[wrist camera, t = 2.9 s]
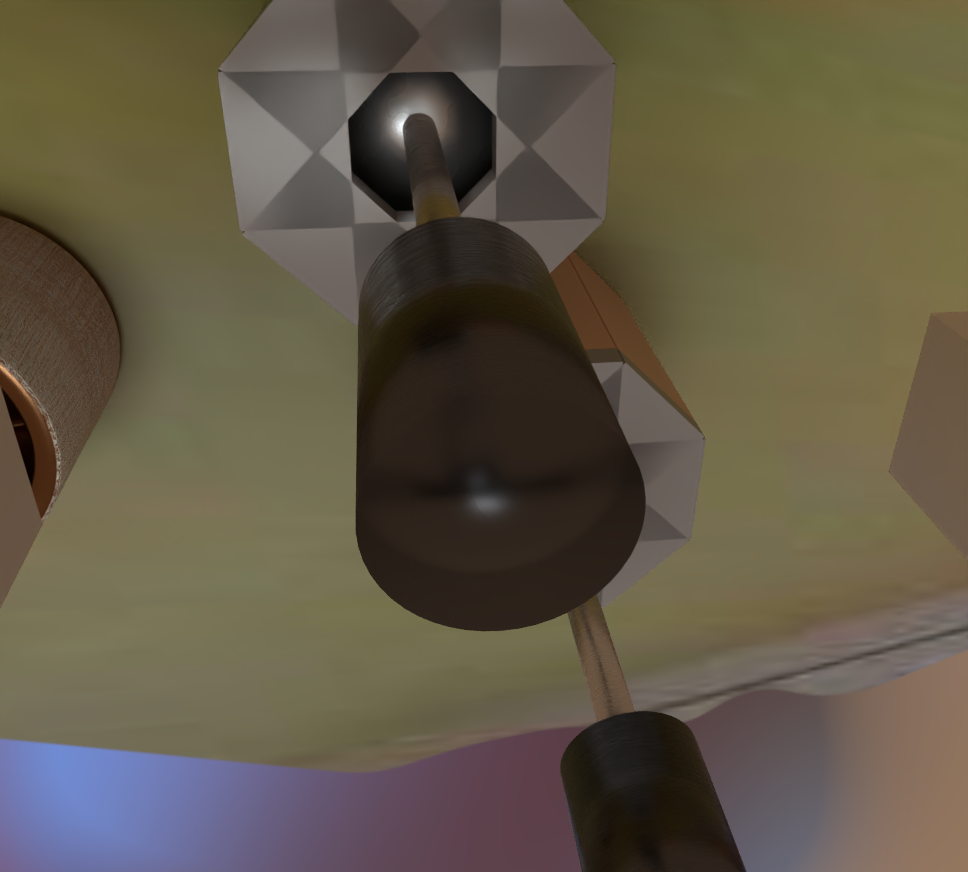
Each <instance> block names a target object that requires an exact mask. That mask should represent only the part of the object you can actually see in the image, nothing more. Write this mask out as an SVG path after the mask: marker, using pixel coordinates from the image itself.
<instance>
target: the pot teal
mask: <svg viewBox="0 0 968 872" xmlns="http://www.w3.org/2000/svg"><path fill="white" fill-rule="evenodd" d="M614 61H615V60H614V59H613V58H612V56H611V55H610V54H609V53H608V52H607V51H606V49H605V48H604V47H603V46H602V45H601V44H600V43H599V41H598V40H597V39H596V38H595V37H594V36H593V34H592V33H591V32H590V31H589V30H588V29H587V28H586V26H585V25H584V24H583V23H582V22H581V21H580V19H579V18H578V17H577V16H576V15H575V14H574V13H573V11H572V10H571V9H570V8H569V7H568V6H567V4H566V3H565V2H564V1H563V0H269V2H268V3H267V4H266V5H265V7H264V8H263V9H262V11H261V12H260V13H259V15H258V16H257V17H256V19H255V20H254V21H253V23H252V24H251V25H250V27H249V28H248V29H247V31H246V32H245V33H244V35H243V36H242V37H241V39H240V40H239V41H238V43H237V44H236V45H235V47H234V48H233V49H232V51H231V52H230V53H229V55H228V56H227V57H226V59H225V60H224V61H223V63H222V64H221V65H220V67H219V71H218V79H219V86H220V93H221V100H222V107H223V114H224V121H225V128H226V135H227V142H228V150H229V157H230V164H231V171H232V178H233V185H234V192H235V199H236V206H237V213H238V220H239V227H240V231H243V233H242V235H243V236H245V237H246V238H247V239H248V240H250V241H251V242H252V243H253V244H255V245H256V246H257V247H258V248H259V249H261V250H262V251H263V252H264V253H266V254H267V255H268V256H269V257H271V258H272V259H273V260H274V261H276V262H277V263H278V264H279V265H281V266H282V267H283V268H284V269H286V270H287V271H288V272H289V273H291V274H292V275H293V276H294V277H295V278H297V279H298V280H299V281H300V282H302V283H303V284H304V285H305V286H307V287H308V288H309V289H310V290H312V291H313V292H314V293H315V294H317V295H318V296H319V297H320V298H322V299H323V300H324V301H325V302H327V303H328V304H329V305H330V306H331V307H333V308H334V309H335V310H336V311H338V312H339V313H340V314H341V315H343V316H344V317H345V318H346V319H348V320H349V321H350V322H351V323H353V324H354V325H355V326H357V325H358V317H359V300H360V293H361V289H362V286H363V282H364V280H365V278H366V275H367V273H368V271H369V269H370V267H371V266H372V264H373V263H374V261H375V259H376V258H377V257H378V256H379V254H380V253H381V252H382V251H383V250H384V249H385V248H386V247H387V246H388V245H389V244H390V243H391V242H392V241H393V240H394V239H396V238H397V237H399V236H400V235H402V234H403V233H404V232H406V231H408V230H410V229H412V228H414V227H416V221H415V214H414V211H395V210H394V209H393V208H392V207H391V206H389V205H388V204H387V203H386V202H385V201H384V200H383V199H382V198H380V197H379V196H378V195H377V194H376V193H375V192H374V191H373V190H372V189H370V188H369V187H368V186H367V185H366V184H365V183H364V182H363V181H362V180H360V179H359V178H358V177H357V176H356V175H355V174H354V173H353V172H352V159H351V146H350V132H349V118H350V117H351V116H352V114H353V113H354V112H355V111H356V110H357V109H358V108H359V107H360V105H361V104H362V103H363V102H364V101H365V100H366V99H367V97H368V96H369V95H370V94H371V93H372V92H373V91H374V90H375V88H376V87H377V86H378V85H379V84H380V83H381V82H382V80H383V79H384V78H385V77H386V76H387V75H388V74H389V73H404V72H454V73H455V74H456V75H457V76H458V78H459V79H460V80H461V81H462V82H463V83H464V84H465V85H466V86H467V87H468V88H469V89H470V90H471V91H472V92H473V93H474V94H475V95H476V96H477V97H478V98H479V99H480V100H481V101H482V102H483V103H484V104H485V105H486V106H487V107H488V108H489V109H490V110H491V111H492V169H491V170H490V171H489V172H488V173H487V174H486V175H485V176H484V177H483V178H482V179H481V180H480V181H479V182H478V183H477V184H476V185H475V186H474V187H473V188H472V189H471V190H470V191H469V192H468V194H467V195H466V196H465V197H464V198H463V199H462V200H461V201H460V202H459V203H458V206H459V210H460V213H461V217H473V218H480V219H485V220H488V221H492V222H495V223H498V224H500V225H502V226H504V227H507V228H509V229H510V230H512V231H514V232H515V233H517V234H518V235H520V236H521V237H522V238H524V239H525V240H526V241H527V242H528V243H530V245H531V246H532V247H533V248H534V249H535V250H536V251H537V252H538V254H539V255H540V257H541V258H542V260H543V261H544V263H545V264H546V266H547V269H548V271H549V273H551V272H552V271H553V270H554V269H555V268H556V267H557V266H558V265H559V264H560V263H561V262H562V261H563V260H564V259H565V258H566V257H567V256H568V255H569V254H571V253H572V252H573V251H574V250H575V249H576V248H577V247H578V246H579V245H580V244H581V243H582V242H583V241H584V240H585V239H586V238H587V237H588V236H589V235H590V234H591V233H592V232H593V231H594V230H595V229H597V228H598V227H599V226H600V225H601V224H602V223H603V222H604V221H603V219H602V218H605V217H606V202H607V188H608V174H609V160H610V146H611V132H612V117H613V103H614V89H615V75H616V64H615V63H614Z"/></svg>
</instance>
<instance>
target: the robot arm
mask: <svg viewBox="0 0 968 872" xmlns="http://www.w3.org/2000/svg"><path fill="white" fill-rule="evenodd" d="M889 473H890V474H891V475H892V476H893V477H894V478H895V480H896V481H897V482H898V483H899V484H900V485H901V486H902V487H903V489H904V490H905V491H906V492H907V493H908V494H909V495H910V497H911V498H912V499H913V500H914V501H915V502H916V503H917V504H918V506H919V507H920V508H921V509H922V510H923V511H924V512H925V513H926V515H927V516H928V517H929V518H930V519H931V520H932V521H933V523H934V524H935V525H936V526H937V527H938V528H939V529H940V530H941V532H942V533H943V534H944V535H945V536H946V537H947V538H948V540H949V541H950V542H951V543H952V544H953V545H954V546H955V547H956V549H957V550H958V551H959V552H960V553H961V554H962V555H963V557H964V558H965V559H966V560H967V561H968V312H946V313H931V316H930V320H929V323H928V327H927V331H926V334H925V338H924V342H923V346H922V349H921V353H920V357H919V360H918V364H917V368H916V372H915V375H914V379H913V383H912V386H911V390H910V394H909V398H908V401H907V405H906V409H905V412H904V416H903V420H902V423H901V427H900V431H899V435H898V438H897V442H896V446H895V449H894V453H893V457H892V461H891V464H890V468H889ZM42 525H43V524H42V521H41V517H40V514H39V511H38V508H37V504H36V501H35V498H34V495H33V491H32V488H31V485H30V482H29V478H28V475H27V472H26V468H25V465H24V462H23V459H22V455H21V452H20V449H19V446H18V442H17V439H16V436H15V433H14V429H13V426H12V423H11V419H10V416H9V413H8V410H7V406H6V403H5V400H4V397H3V393H2V390H1V387H0V608H1V606H2V604H3V602H4V600H5V598H6V596H7V594H8V592H9V590H10V588H11V586H12V584H13V582H14V580H15V578H16V576H17V574H18V572H19V570H20V568H21V566H22V564H23V562H24V560H25V558H26V556H27V554H28V552H29V550H30V548H31V546H32V544H33V542H34V540H35V538H36V536H37V534H38V532H39V530H40V528H41V526H42Z"/></svg>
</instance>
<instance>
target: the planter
mask: <svg viewBox="0 0 968 872" xmlns="http://www.w3.org/2000/svg"><path fill="white" fill-rule="evenodd" d="M119 363H120V339H119V333H118V328H117V324H116V320H115V317H114V314H113V312H112V309H111V307H110V305H109V303H108V301H107V299H106V297H105V295H104V293H103V292H102V290H101V289H100V287H99V286H98V284H97V283H96V281H95V280H94V279H93V277H92V276H91V275H90V273H89V272H88V271H87V270H86V269H85V268H84V267H83V266H82V265H81V264H80V263H79V262H78V261H77V260H76V259H75V258H74V257H73V256H72V255H71V254H70V253H69V252H67V251H66V250H65V249H64V248H62V247H61V246H60V245H59V244H57V243H56V242H54V241H53V240H51V239H50V238H48V237H47V236H45V235H43V234H42V233H40V232H38V231H36V230H34V229H32V228H30V227H28V226H26V225H24V224H22V223H19V222H17V221H15V220H12V219H9V218H6V217H3V216H0V387H1V390H2V393H3V397H4V400H5V403H6V406H7V410H8V413H9V416H10V419H11V423H12V426H13V429H14V433H15V436H16V439H17V442H18V446H19V449H20V452H21V455H22V459H23V462H24V465H25V468H26V472H27V475H28V478H29V482H30V485H31V488H32V491H33V495H34V498H35V501H36V504H37V508H38V511H39V514H40V517H41V521H42V524H43V522H44V521H45V519H46V518H47V516H48V515H49V513H50V512H51V510H52V508H53V506H54V504H55V502H56V500H57V498H58V496H59V494H60V492H61V490H62V488H63V486H64V484H65V482H66V480H67V478H68V476H69V474H70V472H71V470H72V468H73V466H74V464H75V463H76V461H77V459H78V457H79V455H80V453H81V451H82V449H83V447H84V445H85V444H86V442H87V440H88V438H89V436H90V434H91V432H92V431H93V429H94V427H95V425H96V423H97V421H98V419H99V417H100V415H101V414H102V412H103V410H104V408H105V406H106V404H107V402H108V400H109V398H110V396H111V394H112V391H113V389H114V386H115V383H116V380H117V375H118V369H119Z"/></svg>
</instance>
